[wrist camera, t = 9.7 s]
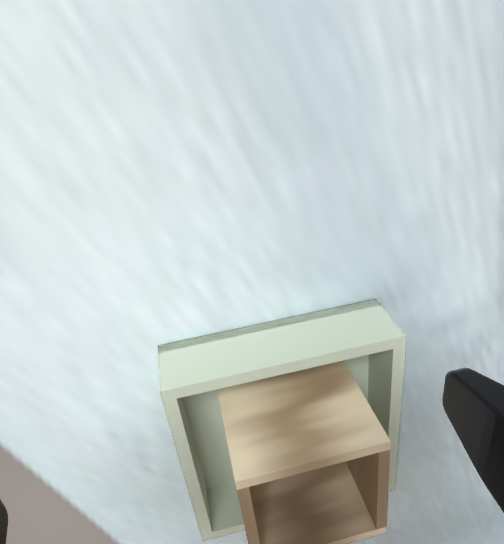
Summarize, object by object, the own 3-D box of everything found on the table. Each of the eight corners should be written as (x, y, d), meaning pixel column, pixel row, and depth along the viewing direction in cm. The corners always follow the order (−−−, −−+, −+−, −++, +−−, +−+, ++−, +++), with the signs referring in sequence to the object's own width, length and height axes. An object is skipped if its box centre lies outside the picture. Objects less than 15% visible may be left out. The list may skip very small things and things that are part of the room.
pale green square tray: (375, 298, 23) (406, 335, 21) (371, 445, 29) (395, 489, 26) (157, 345, 22) (159, 391, 19) (197, 489, 28) (202, 541, 25)
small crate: (337, 350, 24) (390, 441, 19) (340, 435, 27) (386, 532, 22) (214, 378, 23) (234, 482, 18) (232, 462, 26) (254, 570, 21)
